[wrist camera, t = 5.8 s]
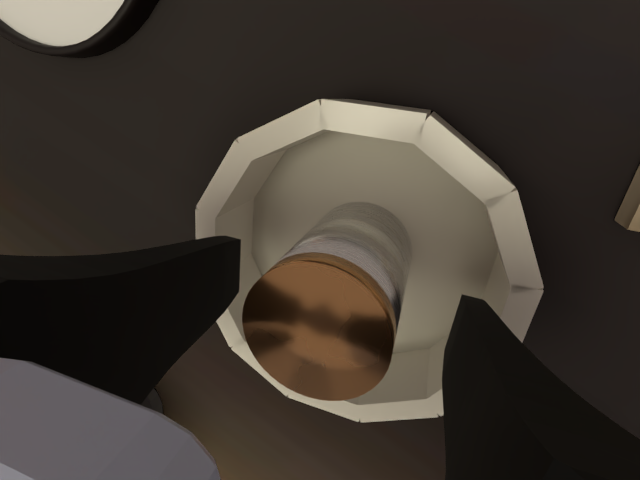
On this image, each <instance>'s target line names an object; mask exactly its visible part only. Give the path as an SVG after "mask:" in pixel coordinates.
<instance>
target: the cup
mask: <svg viewBox="0 0 640 480" xmlns="http://www.w3.org/2000/svg"><path fill="white" fill-rule="evenodd" d="M430 113H431V110H427V109H420V108H413V107H405V106H398V105H391V104H383V103H376V102H369V101H361V100H354V99H318V100H316V101H314V102H312V103H310V104H307V105H305V106H303V107H301V108H299V109H297V110H295V111H293V112H291V113H289V114H287V115H284V116H282V117H280V118H278V119H276V120H274V121H272V122H270V123H268V124H266V125H263V126H261V127H259V128H257V129H255V130H253V131H251V132H249V133H247V134H245V135H243V136H240V137H238V138H237V140H235V141H234V142H233V144H232V146H231V147H230V149H229V151H228V153H227V154H226V156H225V158H224V159H223V161H222V163H221V165H220V166H219V168H218V170H217V171H216V173H215V175H214V177H213V178H212V180H211V182H210V184H209V185H208V187H207V189H206V190H205V192H204V194H203V196H202V197H201V199H200V201H199V202H198V204H197V206H196V207H197V209H195V219H196V239H201V238H207V237H213V236H229V237H233V238H237V239H241V255H240V283H239V293H238V294H237V295H236V297H235V298H234V300H233V301H232V303H231V304H230V305H229V307H228V308H227V309H226V311H225V312H224V313H223V314H222V315H221V316H220V317H219V318H218V319H217V320H216V321H217V323H218V325H219V327H220V329H221V331H222V333H223V335H224V337H225V339H226V341H227V343H228V345H229V347H232V346H233V347H232V348H231V349H232V350H233V351H234V352H235V353H236V354H238V355H239V356H240V357H241V358H242V359H243V360H245V361H246V362H247V363H248V364H249V365H250V366H251V367H253V368H254V369H255V370H256V371H257V372H258V373H260V374H261V375H262V376H263V377H264V378H265V379H267V380H268V381H269V382H270V383H271V384H272V385H274V386H275V387H276V388H277V389H278V390H279V391H281V392H282V393H283V394H284V395H285V396H287V395H288V398H291V399H294V400H297V401H300V402H303V403H305V404H308V405H311V406H314V407H317V408H320V409H322V410H325V411H328V412H331V413H334V414H337V415H340V416H342V417H345V418H348V419H351V420H354V421H357V422H359V419H360V421H361V423H362V422H377V421H391V420H406V419H420V418H435V417H438V415H440V416H442V415H444V412H443V394H442V370H443V358H444V349H445V346H446V343H447V340H448V337H449V334H450V330H451V327H452V324H453V321H454V318H455V314H456V311H457V308H458V305H459V302H460V299H461V295H462V294H463V295H467V296H471V297H475V298H479V299H483V300H485V301H486V302H487V303H488V304H489V306H490V307H491V308H492V309H493V310H494V311H495V313H496V314H497V315H498V316H499V317H500V319H501V320H502V321H503V322H504V323H505V324H506V326H507V327H508V328H509V329H510V330H511V331H512V332H513V334H514V335H515V336H516V337H517V338H518V339H519V340H520V341H521V342H523V340H524V337H525V335H526V333H527V330H528V328H529V325H530V323H531V320H532V318H533V316H534V313H535V311H536V308H537V306H538V304H539V301H540V299H541V296H542V294H543V292H544V290H543V289H542V288H544V286H543V282H542V279H541V275H540V271H539V268H538V264H537V260H536V257H535V253H534V249H533V246H532V242H531V238H530V234H529V231H528V227H527V223H526V220H525V216H524V212H523V209H522V205H521V201H520V198H519V194H518V190H517V189H516V188H515V186H514V185H513V183H512V182H511V181H510V180H509V178H508V177H507V176H506V175H505V174H504V172H503V171H502V170H501V169H500V167H499V166H498V165H497V164H496V163H494V162H493V161H492V160H491V159H490V158H489V157H487V156H486V155H485V154H484V153H483V152H481V151H480V150H479V149H478V148H477V147H476V146H474V145H473V144H472V143H471V142H470V141H468V140H467V139H466V138H465V137H464V136H463V135H461V134H460V133H459V132H458V131H457V130H455V129H454V128H453V127H452V126H451V125H450V124H448V123H447V122H446V121H445V120H444V119H442V118H441V117H440V116H439V115H438V114H437V113H435V112H434V111H433V113H432V114H431V115H430ZM349 202H368V203H373V204H376V205H379V206H381V207H383V208H385V209H387V210H388V211H390V212H391V213H392V214H394V215H395V216H396V217H397V218H398V219H399V220H400V221H401V222H402V224H403V225H404V227H405V228H406V230H407V232H408V234H409V237H410V240H411V244H412V260H411V265H410V270H409V275H408V280H407V285H406V289H405V294H404V299H403V304H402V309H401V314H400V319H399V324H398V329H397V334H396V338H395V343H394V348H393V353H392V358H391V362H390V365H389V368H388V370H387V372H386V374H385V376H384V377H383V379H382V380H381V381H380V382H379V384H377V385H376V386H375V387H374V388H373V389H372V390H370V391H368V392H367V393H365V394H363V395H361V396H359V397H356V398H352V399H349V400H342V401H325V400H318V399H313V398H310V397H306V396H303V395H301V394H298V393H296V392H294V391H292V390H290V389H288V388H286V387H285V386H283V385H282V384H280V383H279V382H277V381H276V380H275V379H274V378H272V377H271V376H270V375H269V374H268V373H267V372H266V371H265V370H264V369H263V368H262V366H261V365H260V364H259V363H258V361H257V360H256V359H255V357H254V356H253V354H252V352H251V350H250V348H249V346H248V344H247V341H246V339H245V335H244V332H243V325H242V312H243V306H244V302H245V299H246V297H247V295H248V292H249V291H250V289H251V288H252V286H253V285H254V284H255V283H256V282H257V281H258V280H259V279H260V278H261V277H262V276H263V275H264V274H265V273H266V272H267V271H268V270H269V269H270V268H271V267H272V266H273V265H274V264H275V263H276V262H277V261H278V260H279V259H280V258H282V257H283V256H284V255H285V254H286V253H287V252H288V251H289V250H290V249H291V248H292V247H293V246H294V245H295V244H296V243H297V242H298V241H299V240H300V239H301V238H302V237H303V236H304V235H305V234H306V233H307V232H308V231H309V230H310V229H311V228H312V227H313V226H314V225H316V224H317V223H318V222H319V221H320V220H321V219H322V218H323V217H324V216H325V215H326V214H327V213H328V212H329V211H331V210H332V209H334V208H335V207H337V206H339V205H342V204H345V203H349Z"/></svg>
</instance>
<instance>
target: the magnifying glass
mask: <svg viewBox="0 0 640 480" xmlns="http://www.w3.org/2000/svg"><path fill="white" fill-rule="evenodd" d="M158 1H159V0H0V35H1V36H2V37H4V38H5V39H7V40H9V41H11V42H12V43H14V44H16V45H18V46H20V47H23V48H25V49H28V50H30V51H33V52H37V53H41V54H46V55H51V56H61V57H75V58H86V57H92V56H98V55H101V54H103V53H106V52H109V51H111V50H113V49H115V48H116V47H118V46H120V45H121V44H123V43H125V42H126V41H127V40H128V39H129V38H130V37H131V36H133V35H134V34H135V33H136V32H137V31H138V30H139V29H140V27H141V26H142V25H143V24H144V22H145V21H146V20H147V19H148V18H149V16H150V14H151V13H152V11H153V9H154V8H155V6H156V4H157V3H158Z"/></svg>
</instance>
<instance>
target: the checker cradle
mask: <svg viewBox="0 0 640 480" xmlns="http://www.w3.org/2000/svg"><path fill="white" fill-rule="evenodd" d="M614 220H615V221H616V222H618V223H619V224H620V225H622V226H623V227H625V228H626V229H627V230H632V231H638V232H640V165H639V167H638V169H637V171H636V173H635V176H634V178H633V180H632V182H631V184H630V186H629V189H628V191H627V193H626V195H625V197H624V199H623V202H622V204H621V206H620V208H619V210H618V212H617V215H616V217H615V219H614Z"/></svg>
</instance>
